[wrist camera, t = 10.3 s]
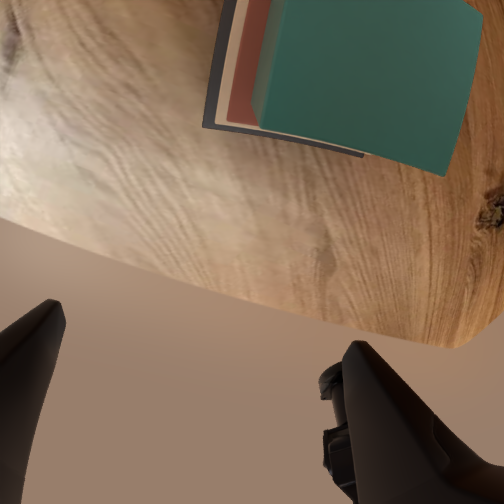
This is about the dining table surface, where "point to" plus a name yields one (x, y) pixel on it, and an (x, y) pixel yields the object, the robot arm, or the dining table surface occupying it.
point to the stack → (243, 74)
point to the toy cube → (370, 75)
